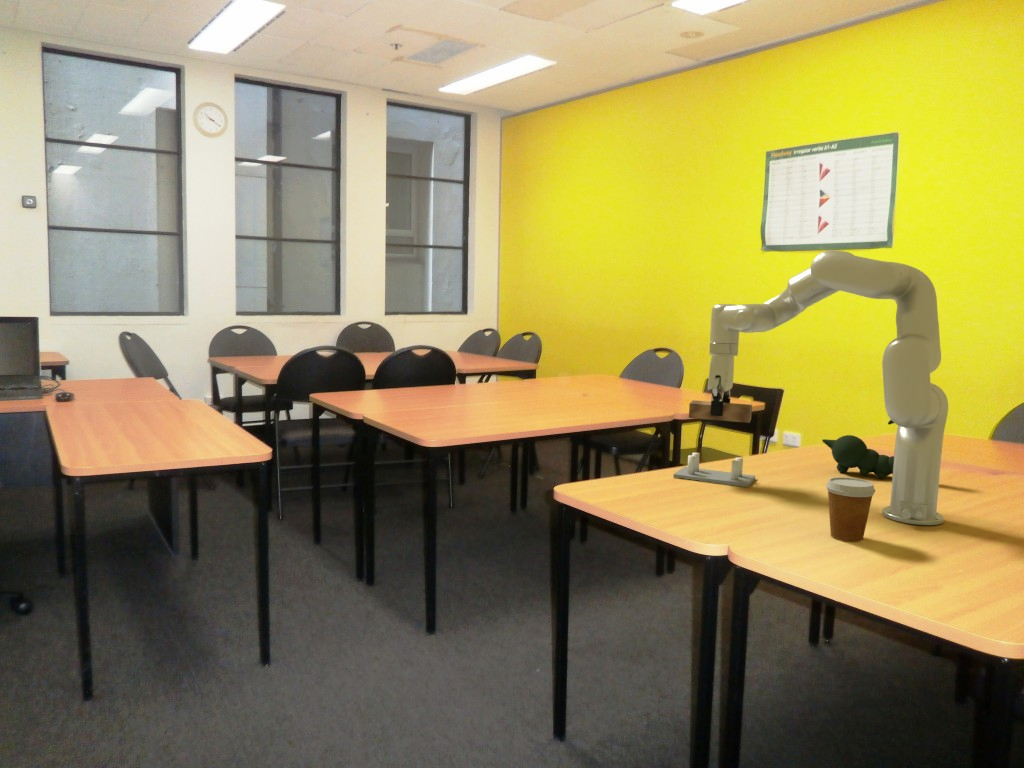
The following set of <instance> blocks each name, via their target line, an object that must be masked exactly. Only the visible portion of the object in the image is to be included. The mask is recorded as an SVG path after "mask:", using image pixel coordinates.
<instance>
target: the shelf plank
mask: <svg viewBox="0 0 1024 768" xmlns="http://www.w3.org/2000/svg"><path fill="white" fill-rule="evenodd" d="M688 406H689V409H688V419H698V420H712V421H723V422H733V423H734V422H737V423H746V424H750V423H751V420H752V410H753V404H750V403H749V404H746V403H734V402H730V403H723V416H712V415H711V414H710V413H711V401H706V400H692V401H690V403H689V405H688Z"/></svg>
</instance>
